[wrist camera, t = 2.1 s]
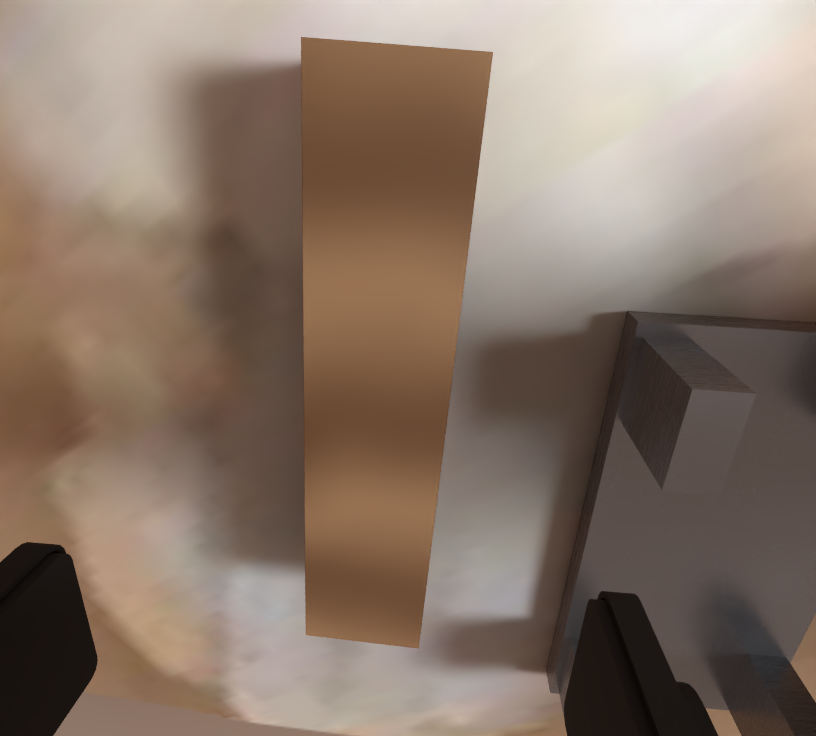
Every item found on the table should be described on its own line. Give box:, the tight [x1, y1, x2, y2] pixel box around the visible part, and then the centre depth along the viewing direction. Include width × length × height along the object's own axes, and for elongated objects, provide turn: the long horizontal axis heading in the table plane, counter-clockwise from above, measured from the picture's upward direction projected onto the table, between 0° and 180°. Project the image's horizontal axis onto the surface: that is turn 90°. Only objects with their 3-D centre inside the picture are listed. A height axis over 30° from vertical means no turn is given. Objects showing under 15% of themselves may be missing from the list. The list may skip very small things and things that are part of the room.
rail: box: [301, 37, 493, 648], centre depth 16 cm, size 18×4×4 cm, turn 176°
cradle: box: [546, 311, 816, 736], centre depth 18 cm, size 17×9×4 cm, turn 178°
